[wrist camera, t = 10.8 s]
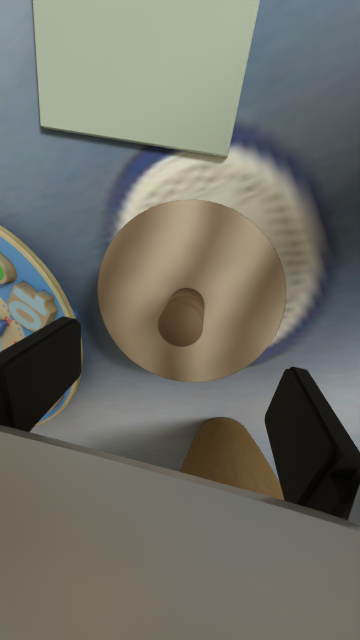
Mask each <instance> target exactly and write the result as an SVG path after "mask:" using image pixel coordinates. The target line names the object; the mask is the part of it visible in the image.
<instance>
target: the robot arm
mask: <svg viewBox="0 0 360 640" xmlns="http://www.w3.org/2000/svg"><path fill="white" fill-rule="evenodd" d="M81 372H82V361H81V326H80V323H78V321H77V320H76V319H74V318H70V317H65V316H62V317H60V318H58V319H57V320H55V321H53V322H51V323H50V324H48V325H46V326H44V327H43V328H41V329H39V330H37V331H36V332H34V333H32V334H30V335H29V336H27V337H25V338H23V339H22V340H20V341H18V342H16V343H15V344H13V345H11V346H9V347H8V348H6V349H4V350H2V351H1V352H0V640H360V452H359V450H358V449H357V447H356V446H355V444H354V442H353V441H352V439H351V438H350V436H349V435H348V433H347V431H346V430H345V428H344V427H343V425H342V424H341V422H340V421H339V419H338V417H337V416H336V414H335V413H334V411H333V410H332V408H331V406H330V405H329V403H328V402H327V400H326V399H325V397H324V396H323V394H322V392H321V391H320V389H319V388H318V386H317V385H316V383H315V381H314V380H313V378H312V377H311V375H310V374H309V372H308V371H307V370H305V369H301V368H296V367H291V368H290V369H286V370H285V371H284V373H283V375H282V378H281V380H280V382H279V385H278V387H277V389H276V391H275V394H274V396H273V398H272V401H271V403H270V405H269V407H268V410H267V412H266V415H265V425H266V429H267V433H268V437H269V441H270V445H271V449H272V453H273V457H274V461H275V465H276V469H277V473H278V477H279V481H280V485H281V489H282V493H283V497H284V501H283V500H280V499H276V498H273V497H270V496H266V495H263V494H259V493H255V492H252V491H248V490H244V489H241V488H237V487H233V486H229V485H226V484H222V483H218V482H215V481H211V480H207V479H204V478H200V477H196V476H193V475H189V474H185V473H182V472H178V471H174V470H170V469H167V468H163V467H159V466H155V465H152V464H148V463H144V462H140V461H137V460H133V459H129V458H125V457H122V456H118V455H114V454H110V453H107V452H103V451H99V450H95V449H91V448H88V447H84V446H80V445H76V444H72V443H68V442H64V441H61V440H57V439H53V438H49V437H45V436H41V435H37V434H34V433H30V430H31V429H32V428H33V427H34V426H35V425H36V424H37V423H38V422H39V421H40V420H41V418H42V417H43V416H44V415H45V414H46V413H47V412H48V411H49V410H50V409H51V408H52V406H53V405H54V404H55V403H56V402H57V401H58V400H59V399H60V398H61V397H62V396H63V394H64V393H65V392H66V391H67V390H68V389H69V388H70V387H71V386H72V385H73V384H74V383H75V381H76V380H77V379H78V378H79V377H80V375H81Z"/></svg>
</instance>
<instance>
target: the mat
mask: <svg viewBox="0 0 360 640" xmlns="http://www.w3.org/2000/svg"><path fill="white" fill-rule="evenodd" d="M259 2H260V0H33V11H34V26H35V42H36V58H37V74H38V90H39V106H40V121H41V126H42V127H44V128H45V129H51V130H58V131H64V132H70V133H76V134H82V135H89V136H95V137H101V138H107V139H113V140H120V141H126V142H132V143H138V144H144V145H151V146H157V147H163V148H169V149H175V150H182V151H188V152H194V153H200V154H207V155H213V156H219V157H225V158H227V157H228V152H229V147H230V142H231V137H232V133H233V128H234V123H235V118H236V113H237V108H238V104H239V99H240V94H241V89H242V84H243V79H244V75H245V70H246V65H247V60H248V55H249V50H250V45H251V41H252V36H253V31H254V26H255V21H256V16H257V12H258V7H259Z"/></svg>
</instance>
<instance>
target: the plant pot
mask: <svg viewBox="0 0 360 640" xmlns="http://www.w3.org/2000/svg"><path fill="white" fill-rule="evenodd" d="M180 472H182V473H185V474H189V475H193V476H196V477H200V478H204V479H207V480H211V481H215V482H218V483H222V484H226V485H229V486H233V487H237V488H241V489H244V490H248V491H252V492H255V493H259V494H263V495H266V496H270V497H273V498H276V499H280V500H283V501H284V497H283V493H282V489H281V485H280V483H279V481H278V479H277V477H276V475H275V474H274V472H273V470H272V468H271V467H270V465H269V463H268V462H267V460H266V458H265V457H264V455H263V454H262V452H261V450H260V449H259V447H258V446H257V444H256V443H255V441H254V440H253V438H252V437H251V436H250V434H249V433H248V431H247V430H246V429H245V427H244V426H243V425H242V424H240V423H239V422H237V421H235V420H233V419H230V418H214V419H211V420H209V421H207V422H205V423H204V424H203V425H202V426H201V427H200V429H199V431H198V433H197V435H196V437H195V439H194V440H193V442H192V445H191V447H190V449H189V451H188V453H187V455H186V458H185V460H184V463H183V465H182V468H181V470H180Z"/></svg>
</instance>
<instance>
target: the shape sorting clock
mask: <svg viewBox="0 0 360 640" xmlns="http://www.w3.org/2000/svg"><path fill="white" fill-rule="evenodd" d="M62 316H65V317H70V318H74V319H76V318H77V313H76V312H74V311H73V310H72V308H71V306H70V304H69V302H68V299H67V297H66V295H65V294H64V292H63V290H62V288H61V287H60V285H59V283H58V282H57V280H56V279H55V277H54V276H53V274H52V273H51V272H50V270H49V269H48V268H47V267H46V265H45V264H44V263H43V262H42V261H41V260H40V259H39V258H38V257H37V256H36V254H35V253H34V252H33V251H32V250H31V249H30V248H29V247H28V246H27V245H26V244H24V243H23V242H22V241H21V240H20V239H19V238H17V237H16V236H15V235H13V234H12V233H11V232H10V231H8V230H7V229H5V228H4V227H2V226H0V352H1V351H2V350H4V349H6V348H8V347H9V346H11V345H13V344H15V343H16V342H18V341H20V340H22V339H23V338H25V337H27V336H29V335H30V334H32V333H34V332H36V331H37V330H39V329H41V328H43V327H44V326H46V325H48V324H50V323H51V322H53V321H55V320H57V319H58V318H60V317H62ZM81 361H82V368H83V346H82V339H81ZM81 375H82V372H81ZM81 375H80V377H79V378H78V379H77V380H76V381H75V383H74V384H73V385H72V386H71V387H70V388H69V389H68V390H67V391H66V392H65V393H64V394H63V396H62V397H61V398H60V399H59V400H58V401H57V402H56V403H55V404H54V405H53V406H52V408H51V409H50V410H49V411H48V412H47V413H46V414H45V415H44V416H43V417H42V418H41V420H40V421H39V422H38V423H37V424H36V425H35V426H38V425H41V424H43V423H45V422H47V421H49V420H51V419H52V418H54V417H55V416H56V415H58V414H59V413H60V412H61V411H62V410H63V409H64V408H65V407H66V406H67V405H68V404H69V402H70V401H71V400H72V398H73V397H74V395H75V393H76V391H77V389H78V386H79V383H80V380H81Z"/></svg>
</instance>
